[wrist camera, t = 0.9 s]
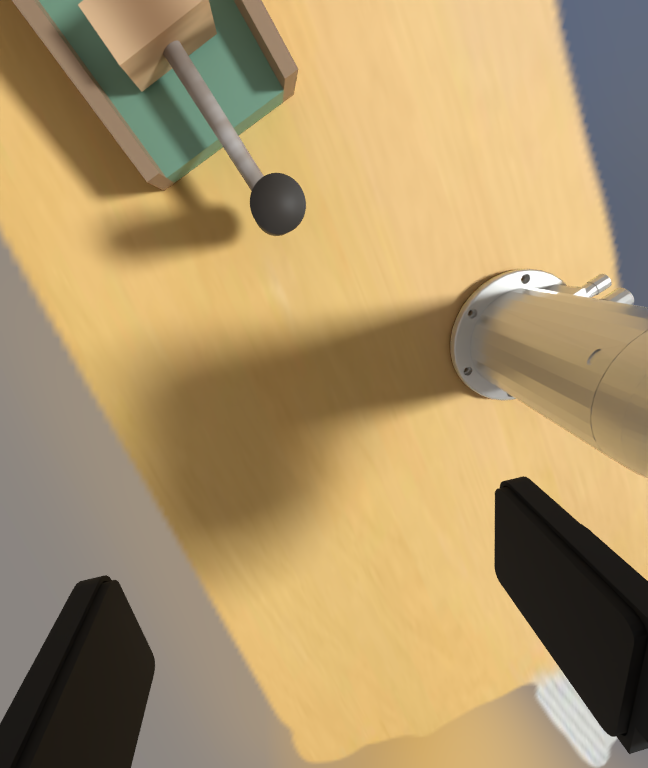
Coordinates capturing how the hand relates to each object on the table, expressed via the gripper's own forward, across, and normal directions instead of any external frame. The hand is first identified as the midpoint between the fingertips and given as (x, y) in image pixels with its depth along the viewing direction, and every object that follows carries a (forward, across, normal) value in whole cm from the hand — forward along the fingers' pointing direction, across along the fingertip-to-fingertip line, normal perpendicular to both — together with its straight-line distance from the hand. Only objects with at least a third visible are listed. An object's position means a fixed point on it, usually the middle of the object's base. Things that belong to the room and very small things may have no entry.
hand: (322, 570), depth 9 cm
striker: (+24, +1, -15) cm, 28 cm away
